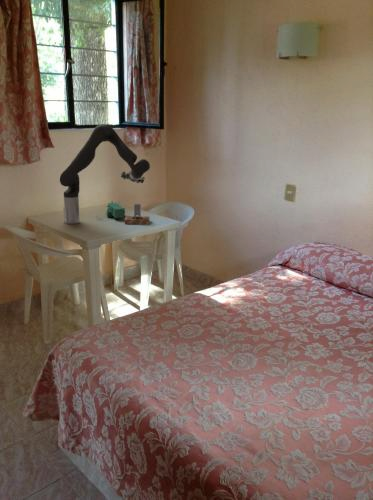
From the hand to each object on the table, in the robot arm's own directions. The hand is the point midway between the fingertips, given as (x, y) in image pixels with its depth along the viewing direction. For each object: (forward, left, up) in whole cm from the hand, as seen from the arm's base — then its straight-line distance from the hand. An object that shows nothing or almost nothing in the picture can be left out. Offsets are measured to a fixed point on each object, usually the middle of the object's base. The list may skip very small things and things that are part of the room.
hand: (130, 179), depth 276 cm
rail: (+5, +2, -29) cm, 30 cm away
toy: (-1, +26, -30) cm, 39 cm away
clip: (+5, +2, -29) cm, 29 cm away
